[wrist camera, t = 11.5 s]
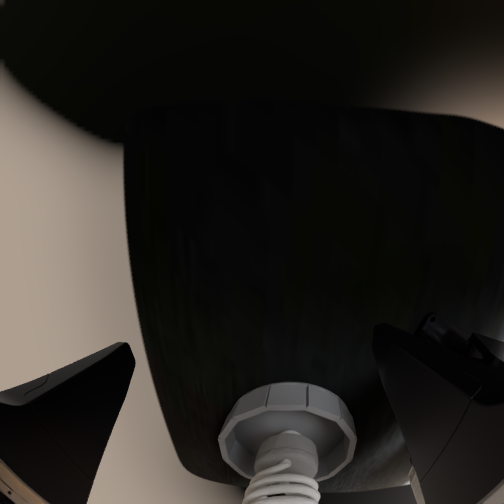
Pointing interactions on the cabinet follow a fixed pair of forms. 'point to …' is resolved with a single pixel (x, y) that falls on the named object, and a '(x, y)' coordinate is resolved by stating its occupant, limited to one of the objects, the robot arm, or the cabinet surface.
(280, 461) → the light bulb
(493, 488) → the robot arm
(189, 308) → the cabinet surface
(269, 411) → the bowl
